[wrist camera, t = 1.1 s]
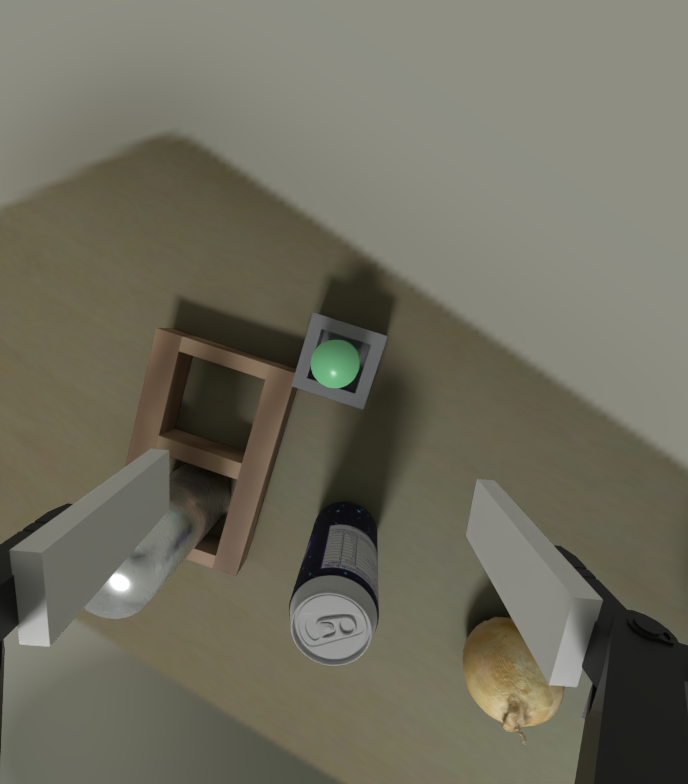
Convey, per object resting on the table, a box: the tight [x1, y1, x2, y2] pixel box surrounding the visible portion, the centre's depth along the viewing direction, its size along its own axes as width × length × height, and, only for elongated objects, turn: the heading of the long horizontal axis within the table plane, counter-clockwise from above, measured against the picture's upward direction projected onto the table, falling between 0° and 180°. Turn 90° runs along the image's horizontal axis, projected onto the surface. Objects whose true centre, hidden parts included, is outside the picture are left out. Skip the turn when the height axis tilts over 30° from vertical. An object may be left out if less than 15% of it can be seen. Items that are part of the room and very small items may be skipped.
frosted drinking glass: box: [84, 463, 231, 619], centre depth 28 cm, size 6×6×12 cm
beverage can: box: [289, 502, 379, 666], centre depth 27 cm, size 6×6×12 cm
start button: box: [311, 340, 360, 388], centre depth 27 cm, size 3×3×3 cm
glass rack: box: [125, 328, 297, 576], centre depth 32 cm, size 12×19×2 cm, turn 162°
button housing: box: [291, 312, 388, 410], centre depth 30 cm, size 6×6×3 cm
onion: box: [463, 617, 564, 744], centre depth 30 cm, size 8×8×7 cm
